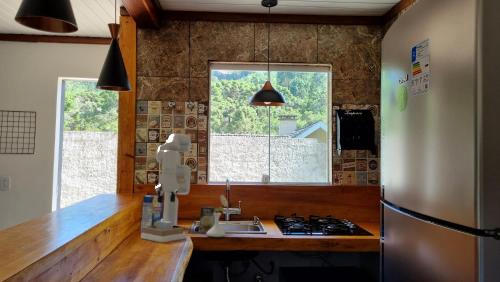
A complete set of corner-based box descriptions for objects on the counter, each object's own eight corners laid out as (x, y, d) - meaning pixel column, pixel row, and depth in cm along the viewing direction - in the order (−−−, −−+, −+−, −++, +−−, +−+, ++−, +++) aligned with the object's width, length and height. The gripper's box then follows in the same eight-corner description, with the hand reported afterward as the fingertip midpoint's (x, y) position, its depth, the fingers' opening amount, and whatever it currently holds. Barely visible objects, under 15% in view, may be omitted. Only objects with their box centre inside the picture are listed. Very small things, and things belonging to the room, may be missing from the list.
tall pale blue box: (155, 231, 194) (156, 221, 195) (162, 230, 199) (163, 220, 199) (165, 233, 190) (166, 222, 191) (172, 232, 194) (173, 221, 195)
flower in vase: (214, 239, 200) (217, 195, 203) (202, 236, 208) (205, 194, 210) (231, 237, 210) (233, 195, 212) (218, 234, 217) (220, 194, 220)
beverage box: (140, 233, 204) (143, 196, 207) (150, 231, 215) (153, 195, 217) (150, 234, 202) (153, 196, 205) (160, 232, 213) (163, 196, 215)
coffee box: (198, 232, 218) (200, 207, 220) (200, 231, 224) (202, 206, 226) (212, 234, 217) (214, 208, 219) (214, 232, 223) (216, 207, 225)
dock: (140, 238, 191) (141, 226, 191) (165, 234, 206) (165, 224, 206) (161, 242, 182) (162, 230, 183) (185, 238, 197) (185, 227, 198)
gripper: (174, 172, 207) (172, 200, 206) (152, 171, 193) (149, 202, 191) (184, 172, 203) (181, 202, 202) (161, 171, 189) (159, 203, 187)
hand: (166, 202), depth 196 cm, fingers open, 9 cm apart
